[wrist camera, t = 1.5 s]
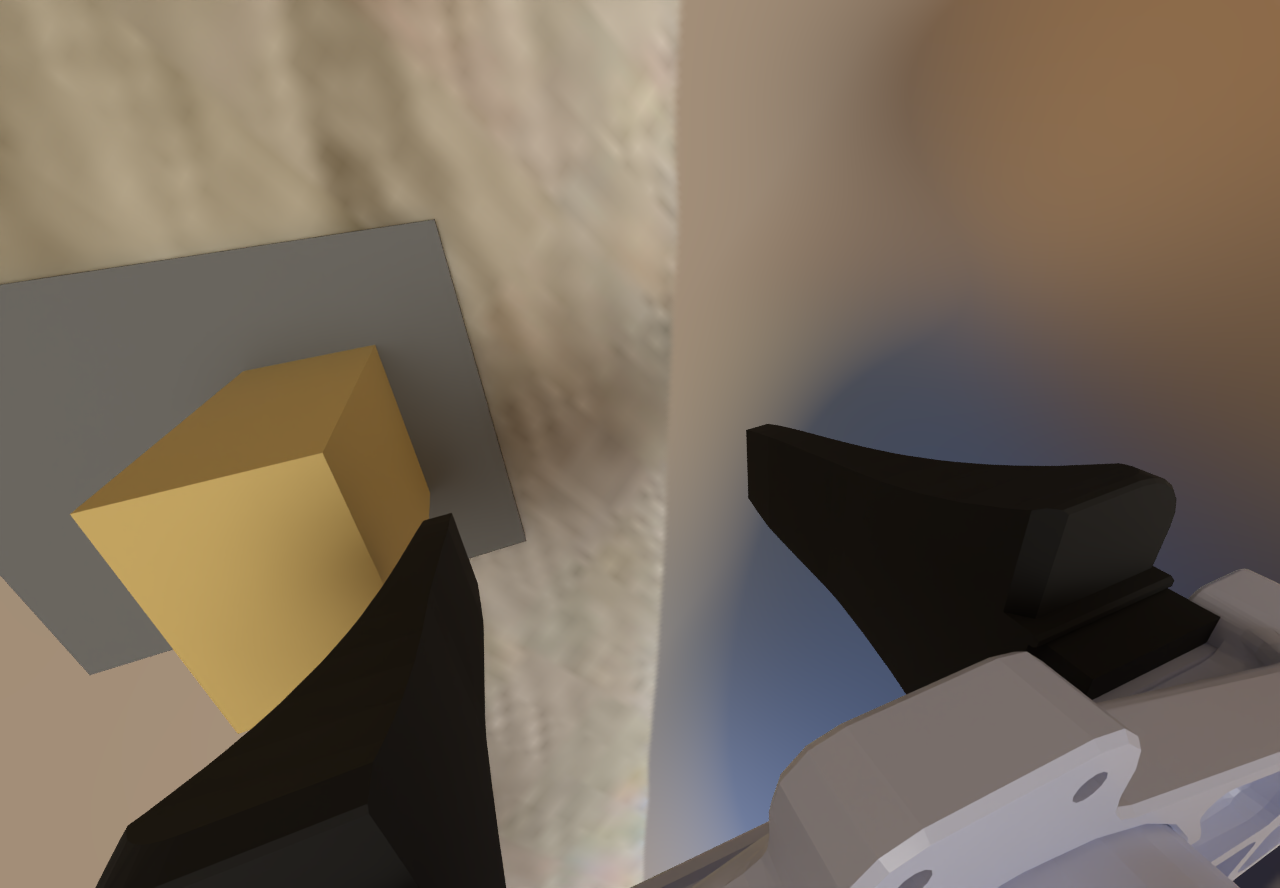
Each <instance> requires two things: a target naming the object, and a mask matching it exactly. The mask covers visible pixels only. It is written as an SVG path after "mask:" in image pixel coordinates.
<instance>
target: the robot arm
mask: <svg viewBox="0 0 1280 888" xmlns="http://www.w3.org/2000/svg"><path fill="white" fill-rule="evenodd" d="M746 434H747V435H746V437H747V467H748V498H749V500H750V501H751V502H752V504H753V505H754V507H755V508H756V510H757V511H758V513H759V514H760V516H761V517H762V518H763V520H764V521H765V522H766V524H767V525H768V527H769V528H770V529H771V530H772V531H773V532H774V533H775V534H776V535H777V536H778V538H780V540H781V541H782V542H783V543H784V544H785V545H786V546H787V547H788V548H789V549H790V550H791V551H792V552H793V553H794V554H795V555H796V556H797V558H798V559H799V560H800V561H801V562H802V563H803V564H804V565H805V566H806V567H807V568H808V569H809V570H810V571H811V572H812V573H813V574H814V575H815V576H816V577H817V578H818V579H819V580H820V581H821V582H822V583H823V584H824V586H825V587H826V588H827V589H828V590H829V591H830V592H831V593H832V594H833V596H834V597H835V598H836V599H837V600H838V601H839V603H840V604H841V605H842V606H843V608H844V609H845V610H846V611H847V613H848V614H849V615H850V617H851V618H852V619H853V621H854V622H855V623H856V624H857V626H858V627H859V628H860V630H861V631H862V632H863V634H864V635H865V636H866V638H867V639H868V640H869V642H870V643H871V644H872V646H873V647H874V649H875V650H876V651H877V653H878V654H879V656H880V657H881V658H882V660H883V661H884V663H885V664H886V665H887V666H888V668H889V670H890V671H891V672H892V674H893V675H894V677H895V678H896V680H897V681H898V683H899V684H900V686H901V687H902V689H903V690H904V692H905V693H906V695H905V696H902V697H900V698H898V699H896V700H893V701H891V702H889V703H887V704H884V705H882V706H880V707H878V708H876V709H873V710H871V711H869V712H867V713H864V714H862V715H860V716H858V717H856V718H853V719H851V720H849V721H847V722H844V723H842V724H840V725H838V726H837V727H835V728H834V729H832V730H830V731H829V732H827V733H826V734H824V735H823V736H821V737H819V738H818V739H816V740H815V741H813V742H812V743H810V744H808V745H807V746H806V747H805V748H804V749H803V750H802V751H801V752H800V753H799V754H798V756H797V757H796V758H795V759H794V760H793V761H792V762H791V763H790V764H789V766H788V767H787V768H786V769H785V770H784V771H783V772H782V773H781V775H780V778H779V781H778V784H777V787H776V790H775V792H774V795H773V798H772V802H771V806H770V810H769V821H768V822H766V823H765V824H762V825H760V826H758V827H756V828H754V829H752V830H750V831H748V832H746V833H743V834H742V835H739V836H737V837H735V838H733V839H731V840H729V841H727V842H725V843H723V844H721V845H719V846H716V847H714V848H712V849H710V850H708V851H706V852H704V853H702V854H700V855H698V856H696V857H694V858H692V859H689V860H687V861H685V862H684V863H681V864H679V865H677V866H675V867H673V868H671V869H669V870H667V871H664V872H662V873H660V874H658V875H656V876H654V877H652V878H650V879H648V880H646V881H644V882H642V883H639V884H637V885H635V886H633V887H631V888H1239V887H1238V886H1237V885H1236V884H1235V883H1234V882H1233V880H1234V879H1235V878H1237V877H1238V876H1239V875H1241V874H1242V873H1243V872H1245V871H1246V870H1247V869H1249V868H1250V867H1251V866H1252V865H1254V864H1255V863H1257V862H1258V861H1259V860H1260V859H1262V858H1263V857H1264V856H1266V855H1267V854H1268V853H1270V852H1271V851H1272V850H1274V849H1275V848H1277V847H1278V846H1279V845H1280V584H1278V583H1276V582H1274V581H1272V580H1270V579H1267V578H1265V577H1263V576H1261V575H1259V574H1257V573H1255V572H1253V571H1250V570H1248V569H1239V570H1237V571H1234V572H1232V573H1230V574H1228V575H1226V576H1224V577H1222V578H1219V579H1217V580H1215V581H1213V582H1211V583H1209V584H1206V585H1205V586H1203V587H1201V588H1200V589H1198V590H1197V591H1196V592H1195V593H1194V594H1193V595H1192V596H1191V597H1190V598H1189V599H1186V598H1185V597H1183V596H1181V595H1179V594H1177V593H1175V592H1173V591H1172V590H1170V589H1168V587H1171V586H1172V584H1173V582H1174V579H1173V578H1172V576H1171V575H1169V574H1167V573H1165V572H1163V571H1161V570H1159V569H1157V568H1156V567H1154V566H1153V564H1154V562H1155V559H1156V557H1157V555H1158V552H1159V550H1160V548H1161V546H1162V544H1163V541H1164V539H1165V537H1166V535H1167V532H1168V530H1169V528H1170V525H1171V523H1172V519H1173V517H1174V514H1175V508H1176V497H1175V493H1174V490H1173V487H1172V485H1171V484H1170V483H1168V482H1167V481H1166V480H1165V479H1163V478H1161V477H1158V476H1156V475H1153V474H1150V473H1148V472H1145V471H1143V470H1140V469H1138V468H1135V467H1133V466H1129V465H1125V464H1119V463H1117V464H1094V465H1069V466H1010V465H1009V466H1008V465H988V464H987V465H986V464H973V463H961V462H950V461H941V460H934V459H927V458H920V457H913V456H906V455H900V454H895V453H889V452H885V451H880V450H876V449H871V448H866V447H862V446H858V445H854V444H849V443H845V442H841V441H838V440H834V439H830V438H826V437H822V436H818V435H815V434H811V433H807V432H804V431H800V430H796V429H792V428H787V427H783V426H778V425H771V424H766V425H762V426H759V427H755V428H752V429H748V430H746ZM96 888H506V883H505V876H504V870H503V863H502V856H501V849H500V842H499V835H498V827H497V820H496V812H495V804H494V797H493V789H492V782H491V773H490V765H489V757H488V748H487V740H486V726H485V687H484V626H483V616H482V609H481V602H480V596H479V589H478V583H477V580H476V578H475V575H474V572H473V569H472V567H471V564H470V561H469V558H468V556H467V553H466V550H465V547H464V545H463V542H462V539H461V536H460V534H459V531H458V528H457V525H456V523H455V520H454V517H453V514H452V513H449V514H445V515H442V516H438V517H435V518H431V519H427V520H424V521H423V522H422V523H421V525H420V526H419V528H418V530H417V531H416V533H415V534H414V536H413V538H412V539H411V541H410V543H409V544H408V546H407V548H406V550H405V551H404V553H403V554H402V556H401V558H400V559H399V561H398V563H397V564H396V566H395V567H394V569H393V570H392V572H391V574H390V575H389V577H388V578H387V580H386V581H385V583H384V584H383V586H382V587H381V589H380V590H379V592H378V593H377V594H376V596H375V597H374V599H373V600H372V601H371V603H370V604H369V605H368V607H367V608H366V610H365V611H364V612H363V614H362V615H361V616H360V618H359V619H358V620H357V621H356V623H355V624H354V625H353V626H352V628H351V629H350V630H349V631H348V632H347V634H346V635H345V636H344V637H343V638H342V639H341V641H340V642H339V643H338V644H337V645H336V646H335V647H334V649H333V650H332V651H331V652H330V653H329V654H328V655H327V656H326V658H325V659H324V660H323V661H322V662H321V663H320V664H319V665H318V666H317V667H316V668H315V669H314V670H313V671H312V672H311V673H310V674H309V675H308V676H307V677H306V678H305V679H304V680H303V681H302V682H301V683H300V684H299V685H298V686H297V687H296V688H295V689H294V690H293V691H292V692H291V693H290V694H289V695H288V696H287V697H286V698H285V699H284V700H283V701H282V702H281V703H280V704H279V705H277V706H276V707H275V708H274V709H273V710H272V711H271V712H270V713H269V714H268V715H266V716H265V717H264V718H263V719H262V720H261V721H260V722H259V723H257V724H256V725H255V726H254V727H253V728H252V729H251V730H250V731H248V732H247V733H246V734H245V735H244V736H243V737H241V738H240V739H239V740H238V741H237V742H235V743H234V744H233V745H232V746H231V747H229V749H227V750H226V751H225V752H224V753H222V754H221V755H220V756H219V757H217V758H216V759H215V760H214V761H212V762H211V763H210V764H209V765H208V766H206V767H205V768H204V769H202V770H201V771H200V772H198V773H197V774H196V775H194V776H193V777H192V778H191V779H189V780H188V781H187V782H185V783H184V784H183V785H181V786H180V787H179V788H177V789H176V790H175V791H174V792H172V793H171V794H170V795H168V796H167V797H166V798H164V799H163V800H162V801H160V802H159V803H158V804H157V805H155V806H154V807H153V808H151V809H150V810H149V811H147V812H146V813H145V814H143V815H142V816H141V817H139V818H138V819H136V820H135V821H134V822H132V823H131V824H130V825H128V826H127V828H126V830H125V832H124V834H123V835H122V837H121V839H120V841H119V843H118V845H117V847H116V849H115V851H114V852H113V854H112V856H111V858H110V860H109V862H108V864H107V866H106V868H105V870H104V872H103V874H102V876H101V878H100V880H99V882H98V884H97V886H96Z"/></svg>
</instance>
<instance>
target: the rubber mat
mask: <svg viewBox="0 0 1280 888" xmlns="http://www.w3.org/2000/svg"><path fill="white" fill-rule="evenodd" d="M371 345H375V346H376V349H377V351H378V354H379V357H380V359H381V362H382V365H383V367H384V370H385V373H386V376H387V378H388V381H389V384H390V386H391V389H392V392H393V394H394V397H395V400H396V402H397V405H398V408H399V410H400V413H401V416H402V419H403V421H404V424H405V427H406V429H407V432H408V435H409V437H410V440H411V443H412V445H413V448H414V451H415V454H416V456H417V459H418V462H419V464H420V467H421V470H422V472H423V475H424V478H425V480H426V483H427V486H428V488H429V491H430V509H429V519H431V518H435V517H438V516H442V515H445V514H449V513H452V514H453V517H454V520H455V523H456V525H457V528H458V531H459V534H460V536H461V539H462V542H463V545H464V547H465V550H466V553H467V556H468V558H472V557H475V556H479V555H482V554H485V553H488V552H492V551H495V550H498V549H501V548H505V547H508V546H511V545H514V544H518V543H521V542H524V541H526V538H525V535H524V531H523V528H522V524H521V521H520V517H519V514H518V510H517V507H516V503H515V500H514V496H513V493H512V489H511V486H510V482H509V479H508V475H507V472H506V468H505V465H504V461H503V458H502V454H501V451H500V447H499V444H498V440H497V437H496V433H495V430H494V426H493V423H492V419H491V416H490V412H489V409H488V405H487V402H486V398H485V395H484V391H483V388H482V384H481V381H480V377H479V374H478V370H477V367H476V363H475V360H474V356H473V353H472V349H471V346H470V342H469V339H468V335H467V332H466V328H465V325H464V321H463V318H462V314H461V311H460V307H459V303H458V300H457V296H456V293H455V289H454V286H453V282H452V279H451V275H450V272H449V268H448V265H447V261H446V258H445V254H444V251H443V247H442V244H441V240H440V237H439V233H438V230H437V226H436V223H435V219H434V220H428V221H421V222H414V223H408V224H401V225H394V226H388V227H381V228H374V229H368V230H361V231H355V232H348V233H341V234H335V235H328V236H321V237H315V238H308V239H301V240H295V241H288V242H281V243H275V244H268V245H261V246H255V247H248V248H241V249H235V250H228V251H221V252H215V253H208V254H201V255H195V256H188V257H181V258H175V259H168V260H161V261H155V262H148V263H141V264H135V265H128V266H122V267H115V268H108V269H102V270H95V271H88V272H82V273H75V274H68V275H62V276H55V277H48V278H42V279H35V280H28V281H22V282H15V283H8V284H2V285H0V576H1V577H2V578H3V579H4V580H5V581H6V582H7V584H8V585H9V586H10V587H11V588H12V589H13V590H14V591H15V592H16V593H17V595H18V596H19V597H20V598H21V599H22V600H23V601H24V602H25V604H26V605H27V606H28V607H29V608H30V609H31V610H32V611H33V612H34V614H35V615H37V617H38V618H39V619H40V620H41V621H42V622H43V623H44V625H45V626H46V627H47V628H48V629H49V630H50V631H51V632H52V634H53V635H54V636H55V637H56V638H57V639H58V640H59V641H60V643H61V644H62V645H63V646H64V647H65V648H66V649H67V650H68V651H69V652H70V653H71V655H72V656H73V657H74V658H75V659H76V660H77V661H78V663H79V664H80V665H81V666H82V667H83V668H84V669H85V670H86V671H87V673H88V674H89V675H91V674H95V673H98V672H101V671H105V670H108V669H111V668H115V667H118V666H121V665H124V664H128V663H131V662H134V661H137V660H141V659H143V658H147V657H150V656H153V655H157V654H160V653H163V652H167V651H170V650H173V648H172V647H171V646H170V645H169V643H168V642H167V641H166V639H165V638H164V637H163V635H162V634H161V633H160V631H159V630H158V629H157V628H156V626H155V625H154V624H153V622H152V621H151V620H150V618H149V617H148V616H147V614H146V613H145V612H144V611H143V609H142V608H141V607H140V605H139V604H138V603H137V601H136V600H135V599H134V597H133V596H132V595H131V594H130V592H129V591H128V590H127V588H126V587H125V586H124V584H123V583H122V582H121V580H120V579H119V578H118V577H117V575H116V574H115V573H114V571H113V570H112V569H111V567H110V566H109V565H108V563H107V562H106V561H105V560H104V558H103V557H102V556H101V554H100V553H99V552H98V550H97V549H96V548H95V546H94V545H93V544H92V543H91V541H90V540H89V539H88V537H87V536H86V535H85V533H84V532H83V531H82V530H81V528H80V527H79V526H78V524H77V523H76V522H75V520H74V519H73V518H72V516H71V515H70V514H71V513H72V512H73V511H74V510H76V509H77V508H78V507H79V506H80V505H82V504H83V503H84V502H85V501H86V500H88V499H89V498H90V497H91V496H92V495H94V494H95V493H96V492H97V491H99V490H100V489H101V488H102V487H103V486H105V485H106V484H107V483H108V482H109V481H111V480H112V479H113V478H114V477H116V476H117V475H118V474H119V473H120V472H122V471H123V470H124V469H125V468H126V467H128V466H129V465H130V464H131V463H132V462H134V461H135V460H136V459H137V458H139V457H140V456H141V455H142V454H143V453H145V452H146V451H147V450H148V449H149V448H151V447H152V446H153V445H154V444H155V443H157V442H158V441H159V440H160V439H162V438H163V437H164V436H165V435H166V434H168V433H169V432H170V431H171V430H172V429H174V428H175V427H176V426H177V425H179V424H180V423H181V422H182V421H183V420H185V419H186V418H187V417H188V416H189V415H191V414H192V413H193V412H194V411H195V410H197V409H198V408H199V407H200V406H202V405H203V404H204V403H205V402H206V401H208V400H209V399H210V398H211V397H212V396H214V395H215V394H216V393H217V392H218V391H220V390H221V389H222V388H223V387H225V386H226V385H227V384H228V383H229V382H231V381H232V380H233V379H234V378H235V377H237V376H238V375H239V374H240V373H242V372H243V371H247V370H252V369H257V368H261V367H266V366H271V365H276V364H281V363H286V362H291V361H296V360H301V359H306V358H311V357H316V356H321V355H326V354H331V353H336V352H341V351H346V350H351V349H356V348H361V347H366V346H371Z"/></svg>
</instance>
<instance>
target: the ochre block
mask: <svg viewBox="0 0 1280 888" xmlns="http://www.w3.org/2000/svg"><path fill="white" fill-rule="evenodd" d="M429 509H430V491H429V488H428V486H427V483H426V480H425V478H424V475H423V472H422V470H421V467H420V464H419V462H418V459H417V456H416V454H415V451H414V448H413V445H412V443H411V440H410V437H409V435H408V432H407V429H406V427H405V424H404V421H403V419H402V416H401V413H400V410H399V408H398V405H397V402H396V400H395V397H394V394H393V392H392V389H391V386H390V384H389V381H388V378H387V376H386V373H385V370H384V367H383V365H382V362H381V359H380V357H379V354H378V351H377V349H376V346H375V345H371V346H366V347H361V348H356V349H351V350H346V351H341V352H336V353H331V354H326V355H321V356H316V357H311V358H306V359H301V360H296V361H291V362H286V363H281V364H276V365H271V366H266V367H261V368H257V369H252V370H247V371H243V372H242V373H240V374H239V375H238V376H237V377H235V378H234V379H233V380H232V381H231V382H229V383H228V384H227V385H226V386H225V387H223V388H222V389H221V390H220V391H218V392H217V393H216V394H215V395H214V396H212V397H211V398H210V399H209V400H208V401H206V402H205V403H204V404H203V405H202V406H200V407H199V408H198V409H197V410H195V411H194V412H193V413H192V414H191V415H189V416H188V417H187V418H186V419H185V420H183V421H182V422H181V423H180V424H179V425H177V426H176V427H175V428H174V429H172V430H171V431H170V432H169V433H168V434H166V435H165V436H164V437H163V438H162V439H160V440H159V441H158V442H157V443H155V444H154V445H153V446H152V447H151V448H149V449H148V450H147V451H146V452H145V453H143V454H142V455H141V456H140V457H139V458H137V459H136V460H135V461H134V462H132V463H131V464H130V465H129V466H128V467H126V468H125V469H124V470H123V471H122V472H120V473H119V474H118V475H117V476H116V477H114V478H113V479H112V480H111V481H109V482H108V483H107V484H106V485H105V486H103V487H102V488H101V489H100V490H99V491H97V492H96V493H95V494H94V495H92V496H91V497H90V498H89V499H88V500H86V501H85V502H84V503H83V504H82V505H80V506H79V507H78V508H77V509H76V510H74V511H73V512H72V513H71V514H70V515H71V516H72V518H73V519H74V520H75V522H76V523H77V524H78V526H79V527H80V528H81V530H82V531H83V532H84V533H85V535H86V536H87V537H88V539H89V540H90V541H91V543H92V544H93V545H94V546H95V548H96V549H97V550H98V552H99V553H100V554H101V556H102V557H103V558H104V560H105V561H106V562H107V563H108V565H109V566H110V567H111V569H112V570H113V571H114V573H115V574H116V575H117V577H118V578H119V579H120V580H121V582H122V583H123V584H124V586H125V587H126V588H127V590H128V591H129V592H130V594H131V595H132V596H133V597H134V599H135V600H136V601H137V603H138V604H139V605H140V607H141V608H142V609H143V611H144V612H145V613H146V614H147V616H148V617H149V618H150V620H151V621H152V622H153V624H154V625H155V626H156V628H157V629H158V630H159V631H160V633H161V634H162V635H163V637H164V638H165V639H166V641H167V642H168V643H169V645H170V646H171V647H172V648H173V650H174V651H175V652H176V654H177V655H178V656H179V658H180V659H181V660H182V661H183V663H184V664H185V665H186V666H187V668H188V669H189V671H190V672H191V673H192V674H193V676H194V677H195V678H196V680H197V681H198V682H199V683H200V685H201V686H202V688H203V689H204V690H205V692H206V693H207V694H208V695H209V697H210V698H211V699H212V701H213V702H214V703H215V705H216V706H217V707H218V709H219V710H220V711H221V712H222V714H223V715H224V716H225V718H226V719H227V720H228V721H229V723H230V724H231V726H232V727H233V728H234V729H235V731H236V732H237V733H238V734H239V733H242V732H245V731H248V730H251V729H252V728H253V727H254V726H255V725H256V724H257V723H259V722H260V721H261V720H262V719H263V718H264V717H265V716H266V715H268V714H269V713H270V712H271V711H272V710H273V709H274V708H275V707H276V706H277V705H279V704H280V703H281V702H282V701H283V700H284V699H285V698H286V697H287V696H288V695H289V694H290V693H291V692H292V691H293V690H294V689H295V688H296V687H297V686H298V685H299V684H300V683H301V682H302V681H303V680H304V679H305V678H306V677H307V676H308V675H309V674H310V673H311V672H312V671H313V670H314V669H315V668H316V667H317V666H318V665H319V664H320V663H321V662H322V661H323V660H324V659H325V658H326V656H327V655H328V654H329V653H330V652H331V651H332V650H333V649H334V647H335V646H336V645H337V644H338V643H339V642H340V641H341V639H342V638H343V637H344V636H345V635H346V634H347V632H348V631H349V630H350V629H351V628H352V626H353V625H354V624H355V623H356V621H357V620H358V619H359V618H360V616H361V615H362V614H363V612H364V611H365V610H366V608H367V607H368V605H369V604H370V603H371V601H372V600H373V599H374V597H375V596H376V594H377V593H378V592H379V590H380V589H381V587H382V586H383V584H384V583H385V581H386V580H387V578H388V577H389V575H390V574H391V572H392V570H393V569H394V567H395V566H396V564H397V563H398V561H399V559H400V558H401V556H402V554H403V553H404V551H405V550H406V548H407V546H408V544H409V543H410V541H411V539H412V538H413V536H414V534H415V533H416V531H417V530H418V528H419V526H420V525H421V523H422V522H423V521H424V520H427V519H429Z"/></svg>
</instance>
